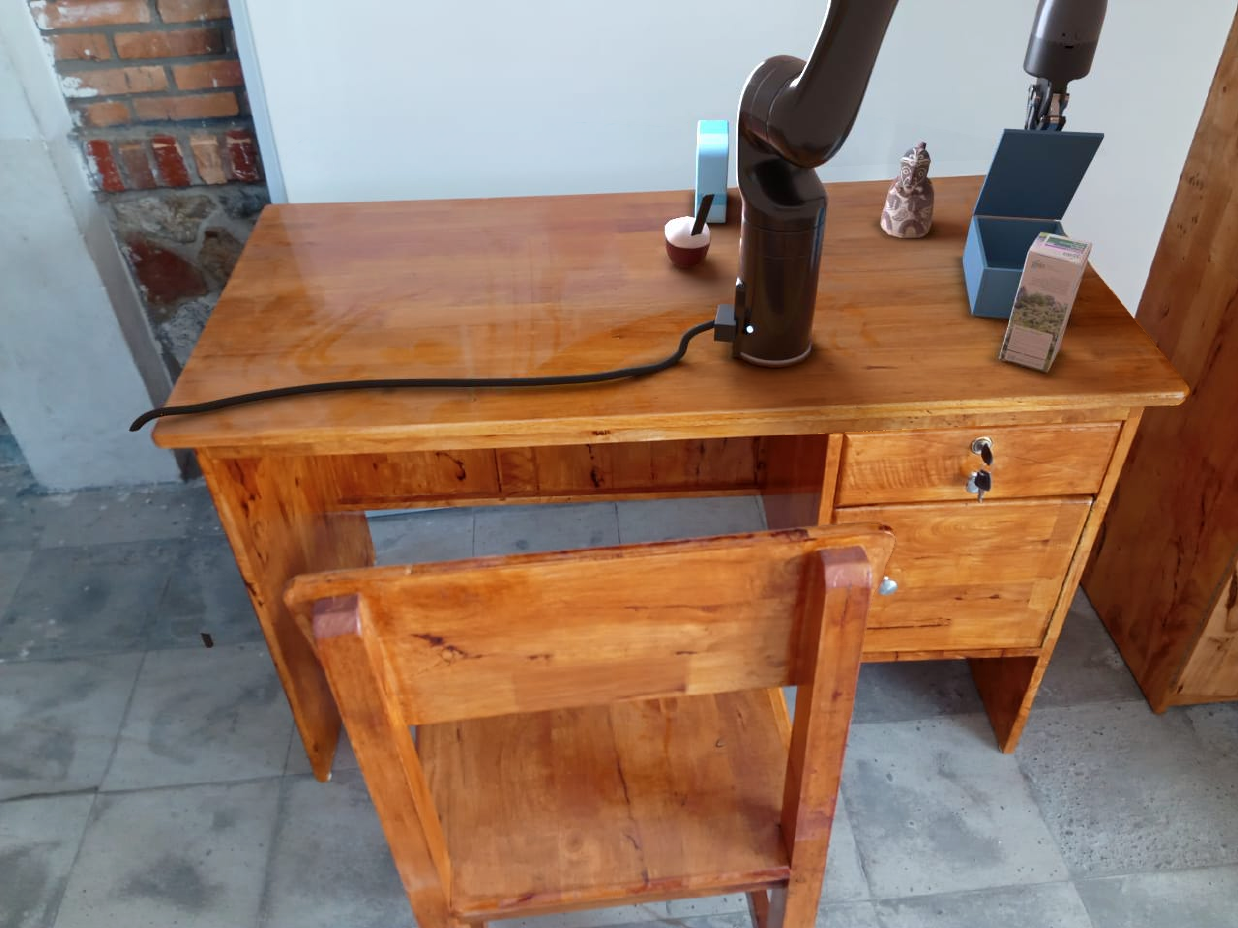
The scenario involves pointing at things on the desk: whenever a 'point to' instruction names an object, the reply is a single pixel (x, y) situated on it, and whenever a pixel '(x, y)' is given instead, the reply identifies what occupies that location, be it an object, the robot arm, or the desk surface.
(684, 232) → the ice cream cup
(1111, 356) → the desk surface
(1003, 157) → the lunchbox lid
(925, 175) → the figurine
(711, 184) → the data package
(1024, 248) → the box
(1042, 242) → the syrup box
